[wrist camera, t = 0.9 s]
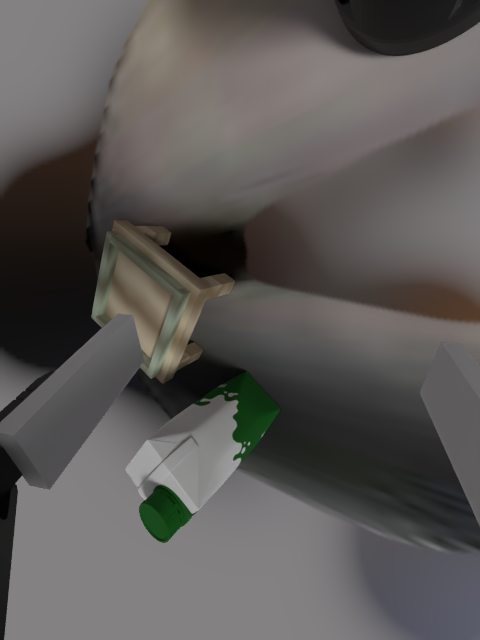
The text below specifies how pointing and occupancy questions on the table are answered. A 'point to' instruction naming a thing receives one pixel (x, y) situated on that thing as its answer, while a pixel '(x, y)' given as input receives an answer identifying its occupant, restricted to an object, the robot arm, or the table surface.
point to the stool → (153, 295)
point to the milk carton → (198, 453)
